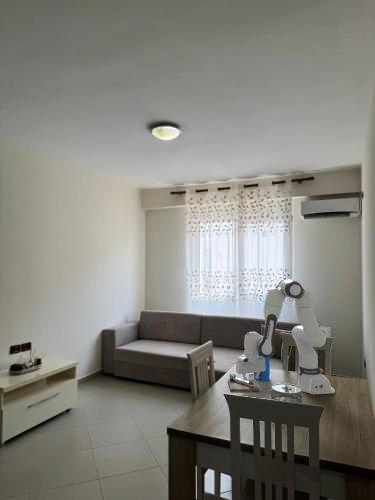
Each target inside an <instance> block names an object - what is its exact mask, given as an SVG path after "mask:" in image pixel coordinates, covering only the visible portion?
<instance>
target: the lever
mask: <svg viewBox="0 0 375 500" xmlns="http://www.w3.org/2000/svg"><path fill="white" fill-rule="evenodd" d="M229 379H230V380H232V381H234V380H235V381H238V382H241V383H244V384H248V385H253V379H254V373H248V379H249V381H245V380H243V379H244V378H243V379H242V378H240V377H236V374H234V373H230V374H229Z"/></svg>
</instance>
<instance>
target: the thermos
mask: <svg viewBox="0 0 375 500" xmlns="http://www.w3.org/2000/svg"><path fill="white" fill-rule="evenodd" d="M258 357H261V355H260V354H259V352H258ZM270 358H271V357H269V358H265V365H266V370H265V371H263V372H260V374H259V376H258V379H255V376H256V374H257V373H256V372H255V373H253V379H255V381H257V382H268V381H269V380H270V373H271V372H270V370H271V369H270V364H271V363H270V360H271V359H270ZM267 380H268V381H267Z"/></svg>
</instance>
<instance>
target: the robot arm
mask: <svg viewBox="0 0 375 500" xmlns="http://www.w3.org/2000/svg"><path fill="white" fill-rule="evenodd" d="M267 291H268V292H267V293H266V297H265V300H264V304H263V316H264V325H265V326H264V331H263V335H261V334H259V333H258V332H257V331H249V332H246V333H245V335H244V339H243V340H244V342H243V346H244V350H243V352H244V353H243V354H240V355H239V356H237V357H236V360H237V361H236V365H235V372H236V373H237V374H238V375H242V377H243V379H244V380H245V381H246V380H247V379H248V377H247V376H246V374H250V373H251V374H254V373H255V372H256V373H257V374H256V376H255V379H258V376H259V374H260V372H263V371H265V370H266V365H265V358H269V357H270V358H271V357H273V356H274V354H275V352H276V347H275V344H274V342H275V341H274V339H275V334H276V328H277V325H278V322H279V319H280V315H281V313H282V308H283V304H284V301H285V299H286V298H291V299H294V304H295V311H296V312H295V313H296V319H297V320H298V322H299V323H300V325H296V326H294V327H293V328H292V329H291V336H292V338H293V339H294V342H295V345H296V347H297V351H298V358H299V359H298V360H299V361H298V368H297V369H298V380H297V386H298V387H300V388H301V389H302V391H301V392H304V393H308V394H310V395H326V394H327V395H328V394H335V393H336V391H335V389H334V387H332V386H331V385H332V384H331V383H330V380H329V379H328V378H327V376H325V375H323V374H322V373H324V369H323V368H320V367H319V366H318V361H319V360H318V359H319V357H318V353H317V352H316V351H315V348H321V347H323V346H324V345H325V344H326V341H327V336H326V333H324V332H323V330H322V329H321V327H320V325H319V324H318V321H317V317H316V313H315V306H314V300H313V296H312V293H311V291H310V290H309V289H308V288H305V287H304V288H303V285H301V283H300V282H298V281H296V280H294V279H287V278H286V279H283V280H281V281H279V282H278V284H277V285H276V286H275V287H271V288H270V289H268V290H267ZM258 352H259V354H260V355H261V357H258ZM297 386H296V387H297Z"/></svg>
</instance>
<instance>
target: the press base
mask: <svg viewBox="0 0 375 500" xmlns="http://www.w3.org/2000/svg"><path fill="white" fill-rule="evenodd" d="M243 380H244V378H243ZM246 381H249V378H247V380H246ZM227 384H228V388H229V390H230V392H234V393H237V392H238V393H241V392H242V393H243V392H244V393H260V392H261V390H260V387H259V386H258V383H257V380H255V379H254V378H253V385H248V384H244V383H241V382H238V381H235V380H234V381H232V380H230V378H227Z"/></svg>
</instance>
